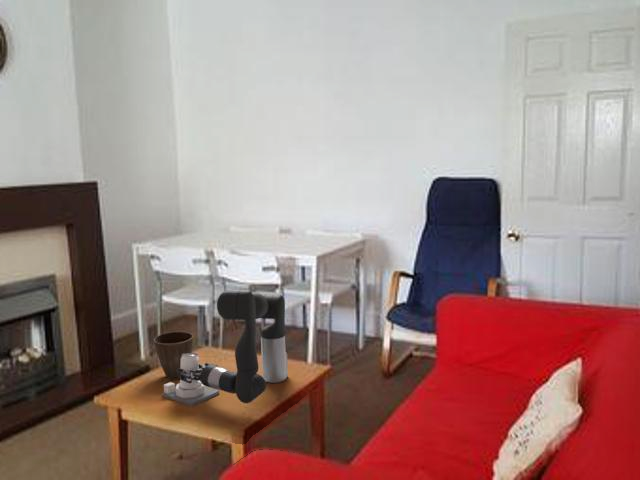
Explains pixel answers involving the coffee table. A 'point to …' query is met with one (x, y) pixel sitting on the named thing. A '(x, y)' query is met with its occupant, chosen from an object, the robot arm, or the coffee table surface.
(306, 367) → the coffee table surface
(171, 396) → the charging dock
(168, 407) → the coffee table surface
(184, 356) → the can
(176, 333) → the plant pot
